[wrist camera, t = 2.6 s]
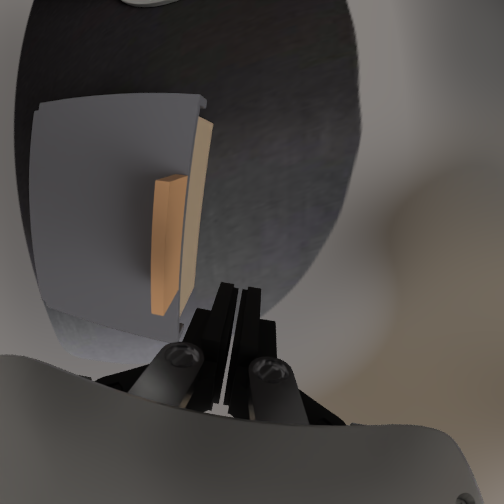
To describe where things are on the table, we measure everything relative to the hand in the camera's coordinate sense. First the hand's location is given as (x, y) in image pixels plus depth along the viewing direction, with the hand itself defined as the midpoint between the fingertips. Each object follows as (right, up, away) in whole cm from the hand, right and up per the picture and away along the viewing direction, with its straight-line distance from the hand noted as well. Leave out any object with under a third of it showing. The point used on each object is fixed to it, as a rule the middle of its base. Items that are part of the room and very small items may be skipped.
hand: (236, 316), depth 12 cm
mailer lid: (-11, +6, +8) cm, 15 cm away
